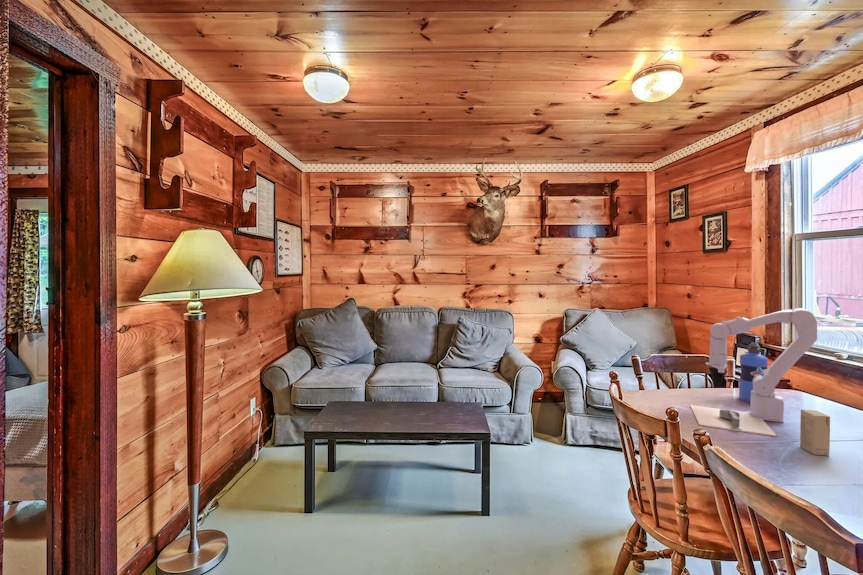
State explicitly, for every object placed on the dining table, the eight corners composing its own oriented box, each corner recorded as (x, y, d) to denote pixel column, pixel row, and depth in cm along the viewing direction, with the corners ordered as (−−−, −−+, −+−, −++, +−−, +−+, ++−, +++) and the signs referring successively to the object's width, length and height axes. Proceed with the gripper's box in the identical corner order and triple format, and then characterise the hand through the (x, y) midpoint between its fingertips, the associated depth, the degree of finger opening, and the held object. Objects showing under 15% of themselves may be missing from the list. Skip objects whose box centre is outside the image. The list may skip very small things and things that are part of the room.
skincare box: (830, 456, 120) (831, 417, 120) (813, 455, 121) (815, 416, 120) (814, 446, 127) (815, 409, 126) (798, 445, 127) (800, 408, 127)
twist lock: (717, 414, 153) (718, 405, 153) (736, 416, 150) (737, 408, 150) (726, 426, 141) (726, 417, 141) (747, 429, 138) (747, 420, 138)
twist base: (757, 414, 154) (757, 413, 154) (776, 436, 134) (776, 435, 134) (690, 406, 163) (690, 404, 163) (699, 425, 144) (699, 423, 144)
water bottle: (772, 404, 166) (774, 345, 164) (749, 404, 166) (751, 345, 164) (754, 396, 175) (756, 341, 174) (733, 396, 175) (735, 341, 174)
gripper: (703, 348, 167) (702, 380, 168) (709, 355, 154) (708, 389, 155) (723, 350, 164) (722, 382, 165) (731, 357, 151) (730, 392, 152)
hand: (716, 386), depth 160 cm, fingers closed
